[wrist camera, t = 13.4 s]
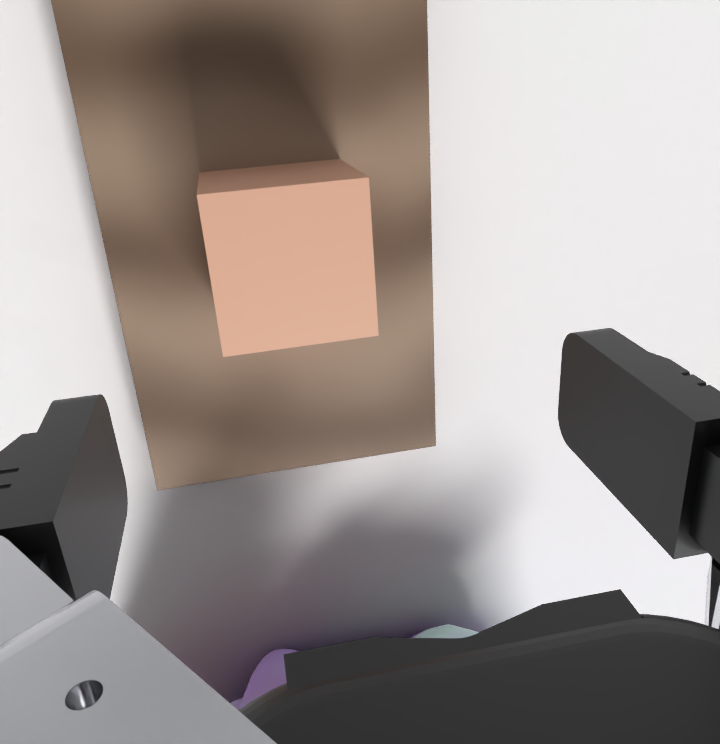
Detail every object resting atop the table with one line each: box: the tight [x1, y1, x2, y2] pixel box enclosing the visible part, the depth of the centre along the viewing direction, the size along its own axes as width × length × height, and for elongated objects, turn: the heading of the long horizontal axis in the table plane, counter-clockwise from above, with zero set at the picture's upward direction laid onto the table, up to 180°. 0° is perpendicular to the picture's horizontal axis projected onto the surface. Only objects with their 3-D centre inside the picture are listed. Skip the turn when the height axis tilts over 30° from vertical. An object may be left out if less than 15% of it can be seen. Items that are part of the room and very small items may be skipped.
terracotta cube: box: [197, 159, 379, 357], centre depth 23 cm, size 5×5×5 cm
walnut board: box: [51, 0, 436, 490], centre depth 26 cm, size 20×12×2 cm, turn 4°
